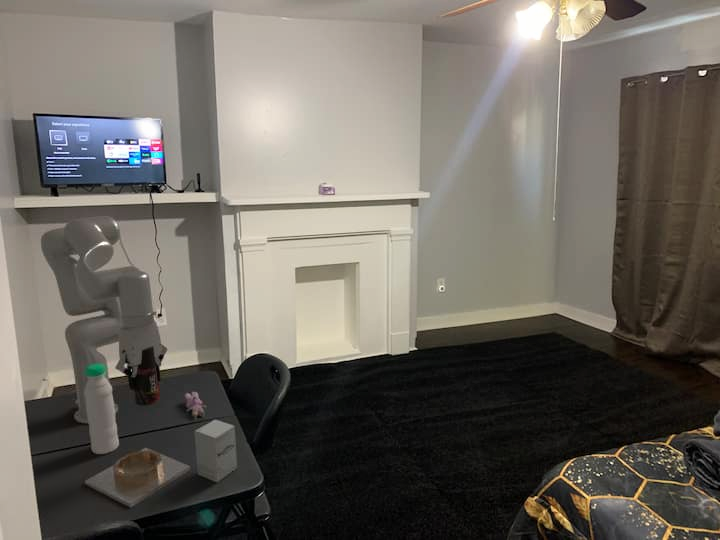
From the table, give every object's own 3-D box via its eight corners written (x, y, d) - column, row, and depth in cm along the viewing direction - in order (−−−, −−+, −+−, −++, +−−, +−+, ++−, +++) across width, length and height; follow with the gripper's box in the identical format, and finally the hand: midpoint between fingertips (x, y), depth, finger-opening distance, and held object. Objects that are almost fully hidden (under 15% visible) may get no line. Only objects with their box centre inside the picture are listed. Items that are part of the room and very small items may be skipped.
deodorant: (151, 406, 142) (145, 351, 139) (131, 404, 143) (124, 350, 140) (163, 396, 148) (158, 343, 144) (143, 394, 149) (137, 342, 145)
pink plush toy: (210, 420, 173) (199, 395, 185) (209, 404, 171) (198, 380, 183) (189, 425, 170) (180, 399, 182) (188, 409, 168) (179, 384, 180)
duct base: (85, 484, 138) (83, 470, 137) (146, 450, 153) (144, 437, 152) (130, 507, 129) (129, 492, 128) (190, 469, 144) (189, 456, 143)
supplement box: (217, 483, 138) (213, 438, 135) (197, 474, 142) (193, 430, 139) (238, 469, 144) (235, 425, 141) (218, 461, 148) (214, 418, 145)
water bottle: (86, 452, 153) (74, 369, 147) (105, 440, 159) (95, 359, 154) (105, 457, 150) (94, 372, 145) (124, 444, 157) (114, 362, 151)
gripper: (155, 309, 150) (162, 370, 153) (98, 327, 135) (107, 394, 139) (174, 312, 146) (180, 375, 150) (118, 331, 131) (126, 401, 135)
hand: (145, 384), depth 144 cm, fingers closed on deodorant, 5 cm apart
